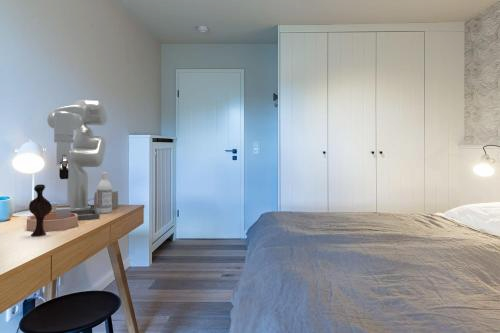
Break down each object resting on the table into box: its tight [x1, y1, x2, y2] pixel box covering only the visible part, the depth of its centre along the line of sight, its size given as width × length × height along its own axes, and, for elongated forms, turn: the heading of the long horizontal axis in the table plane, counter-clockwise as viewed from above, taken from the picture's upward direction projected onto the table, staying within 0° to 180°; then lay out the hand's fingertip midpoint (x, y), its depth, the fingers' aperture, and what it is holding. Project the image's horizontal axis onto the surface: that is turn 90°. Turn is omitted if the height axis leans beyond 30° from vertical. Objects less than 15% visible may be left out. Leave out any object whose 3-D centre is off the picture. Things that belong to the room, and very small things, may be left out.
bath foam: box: [96, 171, 113, 214], centre depth 161 cm, size 7×7×20 cm
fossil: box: [93, 190, 119, 211], centre depth 169 cm, size 12×4×10 cm, turn 147°
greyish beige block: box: [56, 203, 70, 208], centre depth 144 cm, size 4×5×6 cm
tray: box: [50, 208, 100, 221], centre depth 146 cm, size 15×20×2 cm
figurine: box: [28, 183, 53, 237], centre depth 115 cm, size 7×5×18 cm
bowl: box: [26, 213, 79, 233], centre depth 129 cm, size 17×17×4 cm
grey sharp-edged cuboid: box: [55, 207, 71, 220], centre depth 131 cm, size 4×5×6 cm
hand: (63, 178), depth 144 cm, fingers open, 9 cm apart
